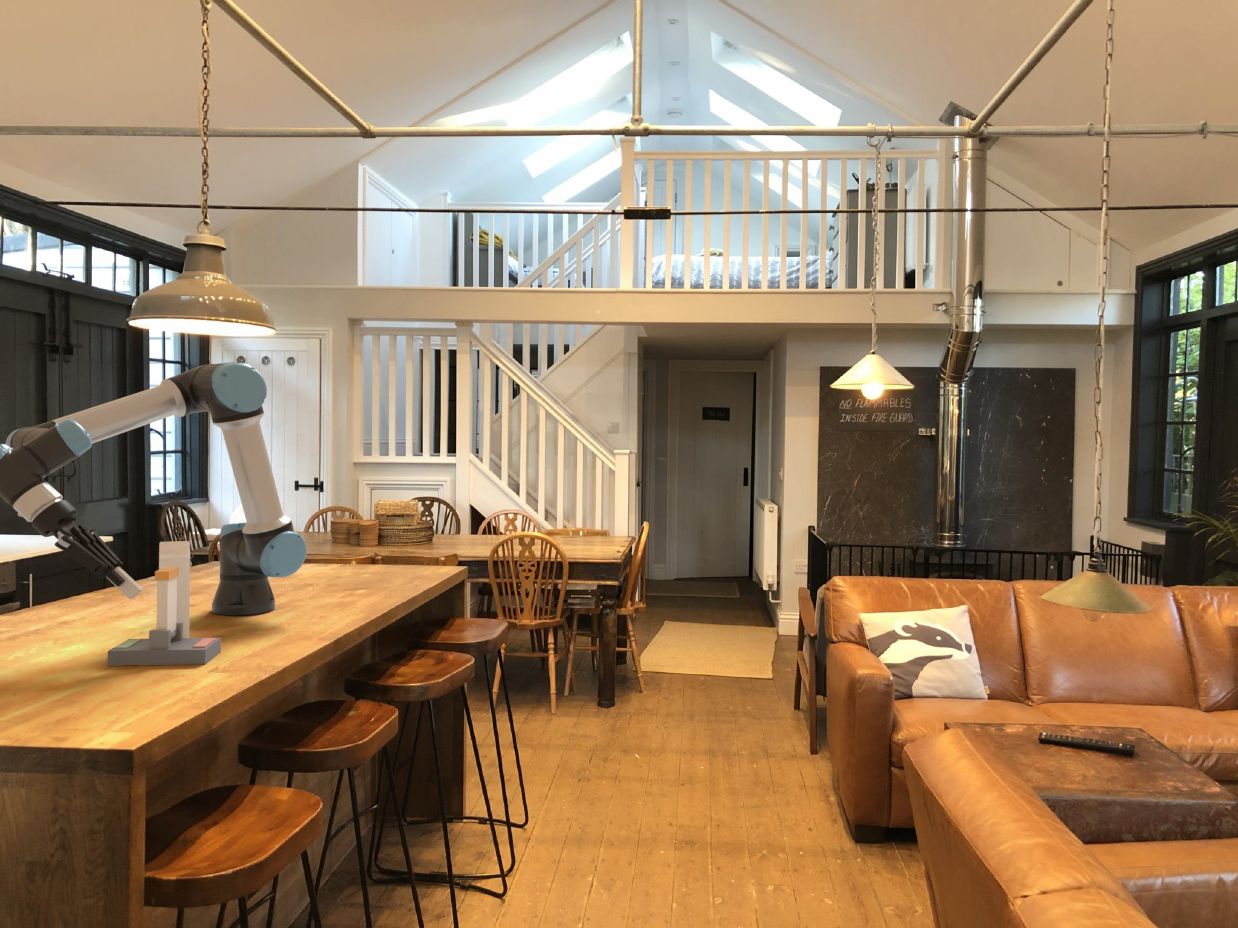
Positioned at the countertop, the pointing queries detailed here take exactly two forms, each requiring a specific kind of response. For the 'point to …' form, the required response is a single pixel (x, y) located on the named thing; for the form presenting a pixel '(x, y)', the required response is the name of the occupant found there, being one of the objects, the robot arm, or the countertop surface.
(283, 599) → the countertop surface
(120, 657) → the switch plate
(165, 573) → the handle
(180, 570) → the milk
